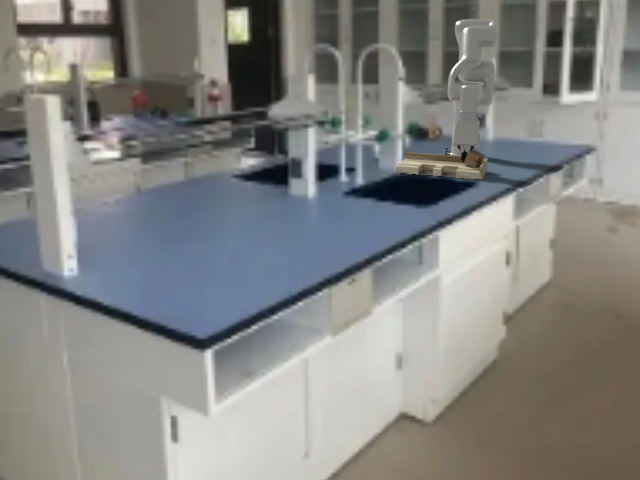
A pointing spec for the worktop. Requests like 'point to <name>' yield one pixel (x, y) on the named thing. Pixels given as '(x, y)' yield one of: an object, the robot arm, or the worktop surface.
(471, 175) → the board
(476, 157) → the walnut block
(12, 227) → the worktop surface
